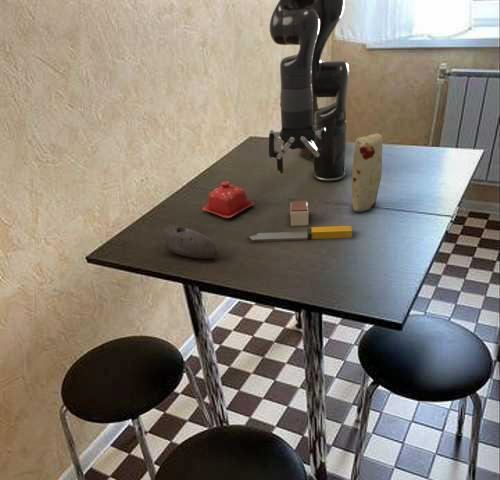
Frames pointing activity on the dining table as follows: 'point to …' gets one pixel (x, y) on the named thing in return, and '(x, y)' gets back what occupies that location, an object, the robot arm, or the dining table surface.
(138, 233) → the dining table surface
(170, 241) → the perforated stone tool
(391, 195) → the dining table surface
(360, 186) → the food model
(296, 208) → the salt cellar
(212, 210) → the butter dish
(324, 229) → the knife
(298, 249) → the dining table surface
